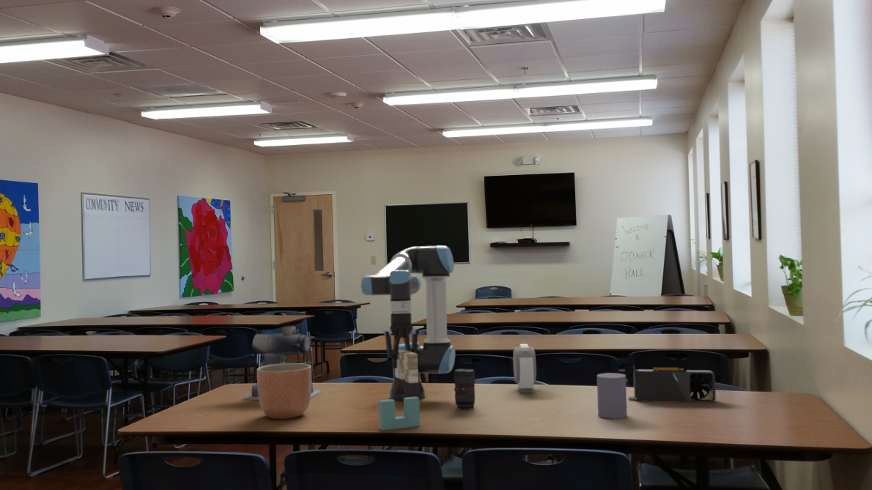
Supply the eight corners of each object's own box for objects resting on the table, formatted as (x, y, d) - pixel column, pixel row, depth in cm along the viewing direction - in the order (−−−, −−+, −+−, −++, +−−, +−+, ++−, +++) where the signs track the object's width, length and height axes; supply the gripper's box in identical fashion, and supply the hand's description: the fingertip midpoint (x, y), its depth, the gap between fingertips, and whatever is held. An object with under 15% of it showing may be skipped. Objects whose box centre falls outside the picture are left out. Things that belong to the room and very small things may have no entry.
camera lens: (474, 410, 292) (472, 371, 292) (453, 409, 293) (452, 371, 293) (477, 405, 300) (475, 368, 300) (457, 405, 301) (456, 368, 301)
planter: (253, 414, 297) (252, 366, 297) (305, 408, 305) (304, 361, 305) (263, 424, 278) (262, 373, 278) (318, 418, 286) (316, 368, 286)
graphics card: (628, 401, 300) (627, 365, 300) (628, 399, 305) (627, 363, 305) (715, 403, 292) (715, 367, 292) (714, 401, 297) (713, 365, 297)
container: (610, 420, 268) (609, 378, 268) (592, 415, 277) (591, 375, 277) (633, 417, 273) (631, 375, 273) (613, 412, 282) (612, 372, 282)
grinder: (258, 391, 345) (256, 325, 345) (322, 392, 339) (320, 324, 340) (240, 399, 327) (238, 329, 327) (308, 400, 321) (306, 328, 321)
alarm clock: (537, 393, 320) (535, 346, 320) (517, 394, 320) (516, 347, 320) (532, 386, 338) (531, 341, 338) (513, 386, 338) (512, 342, 338)
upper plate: (396, 377, 275) (395, 350, 275) (404, 376, 276) (403, 349, 276) (409, 383, 262) (408, 354, 262) (418, 382, 263) (417, 353, 263)
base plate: (382, 430, 263) (381, 402, 263) (379, 428, 266) (379, 400, 266) (419, 425, 268) (419, 398, 268) (416, 424, 271) (416, 396, 271)
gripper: (382, 314, 267) (384, 380, 266) (425, 311, 273) (427, 376, 273) (376, 312, 274) (378, 377, 273) (418, 310, 280) (419, 373, 280)
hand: (402, 376), depth 273 cm, fingers closed on upper plate, 3 cm apart
